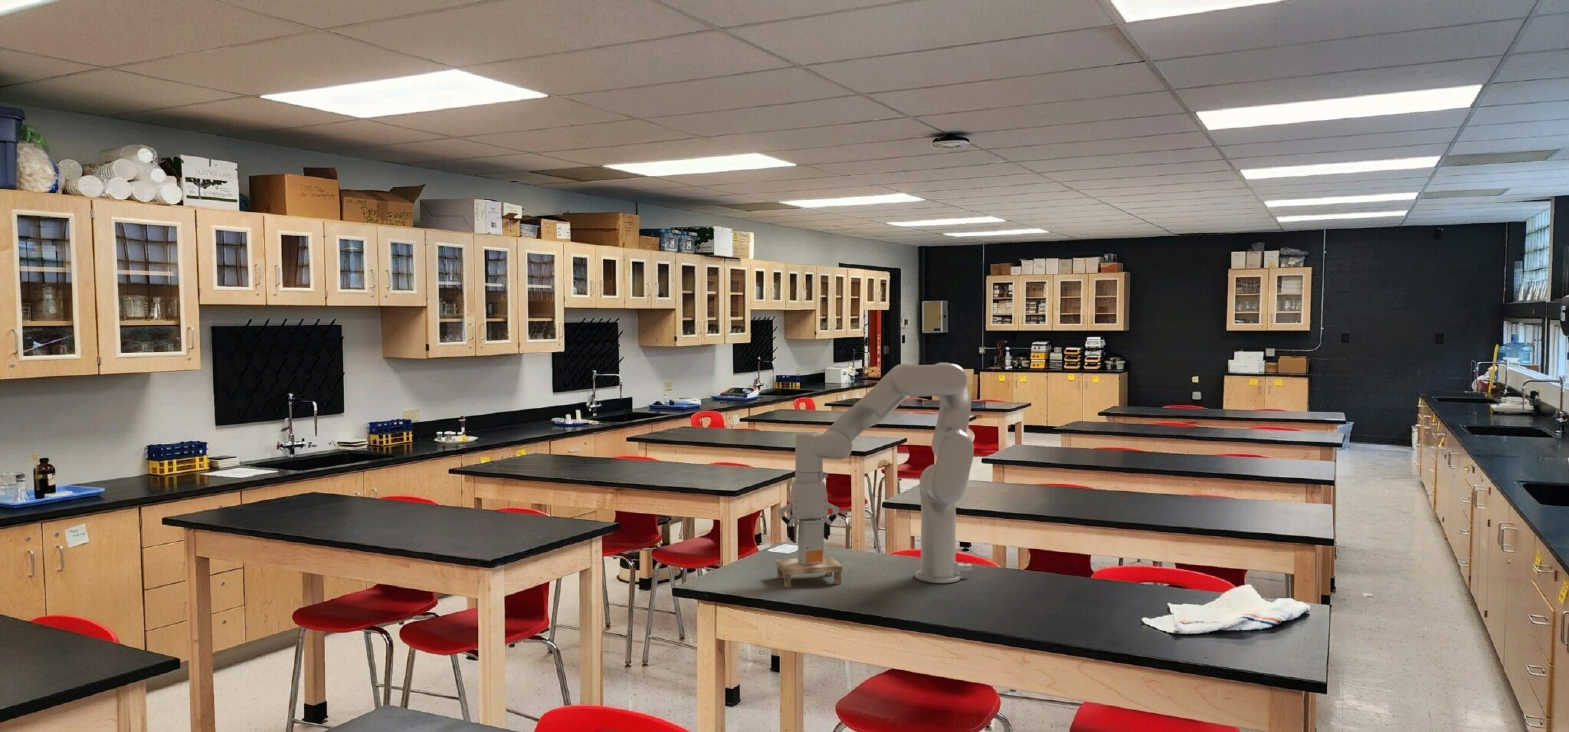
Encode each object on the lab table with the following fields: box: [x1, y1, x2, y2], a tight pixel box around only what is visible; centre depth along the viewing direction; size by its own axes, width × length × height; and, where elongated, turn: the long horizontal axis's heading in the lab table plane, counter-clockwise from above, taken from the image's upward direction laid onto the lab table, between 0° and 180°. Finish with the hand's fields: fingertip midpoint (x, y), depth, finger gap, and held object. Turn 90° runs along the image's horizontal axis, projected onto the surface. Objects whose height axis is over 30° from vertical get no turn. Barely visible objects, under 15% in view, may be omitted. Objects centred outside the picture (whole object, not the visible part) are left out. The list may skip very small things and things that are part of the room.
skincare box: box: [797, 519, 825, 565], centre depth 260 cm, size 6×4×12 cm
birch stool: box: [775, 556, 843, 588], centre depth 260 cm, size 16×11×5 cm
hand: (808, 539), depth 260 cm, fingers open, 9 cm apart
